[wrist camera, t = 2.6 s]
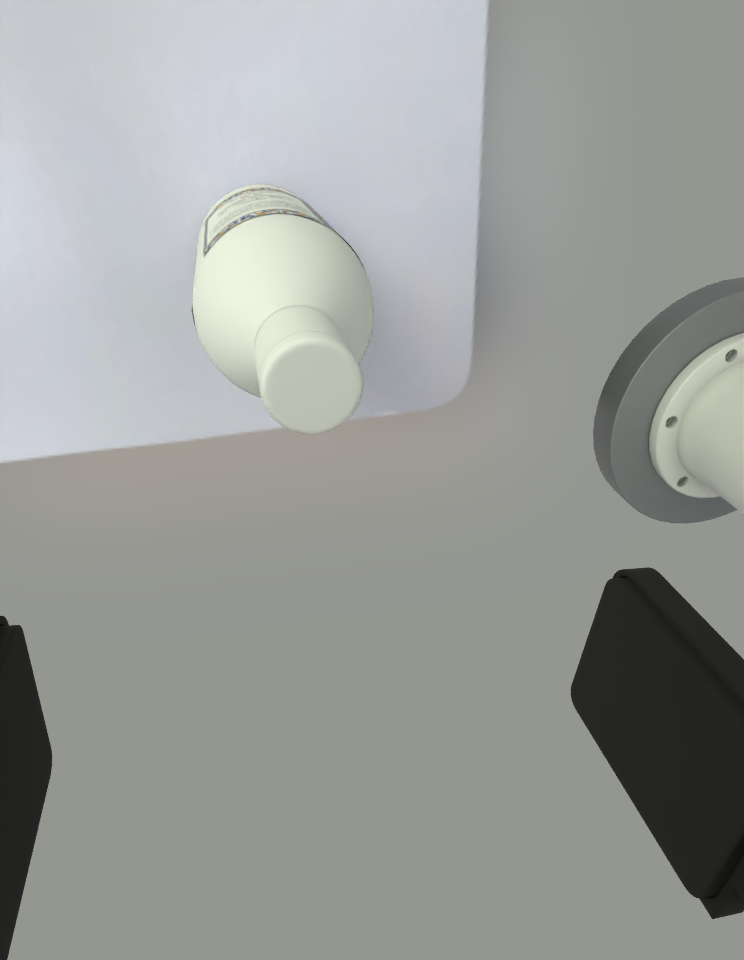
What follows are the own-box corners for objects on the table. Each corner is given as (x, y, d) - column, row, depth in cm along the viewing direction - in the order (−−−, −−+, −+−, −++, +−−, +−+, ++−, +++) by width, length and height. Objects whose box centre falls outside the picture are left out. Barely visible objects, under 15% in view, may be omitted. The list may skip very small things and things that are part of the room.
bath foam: (306, 330, 37) (384, 514, 20) (185, 295, 35) (160, 471, 18) (343, 209, 34) (471, 306, 17) (215, 162, 32) (218, 221, 15)
